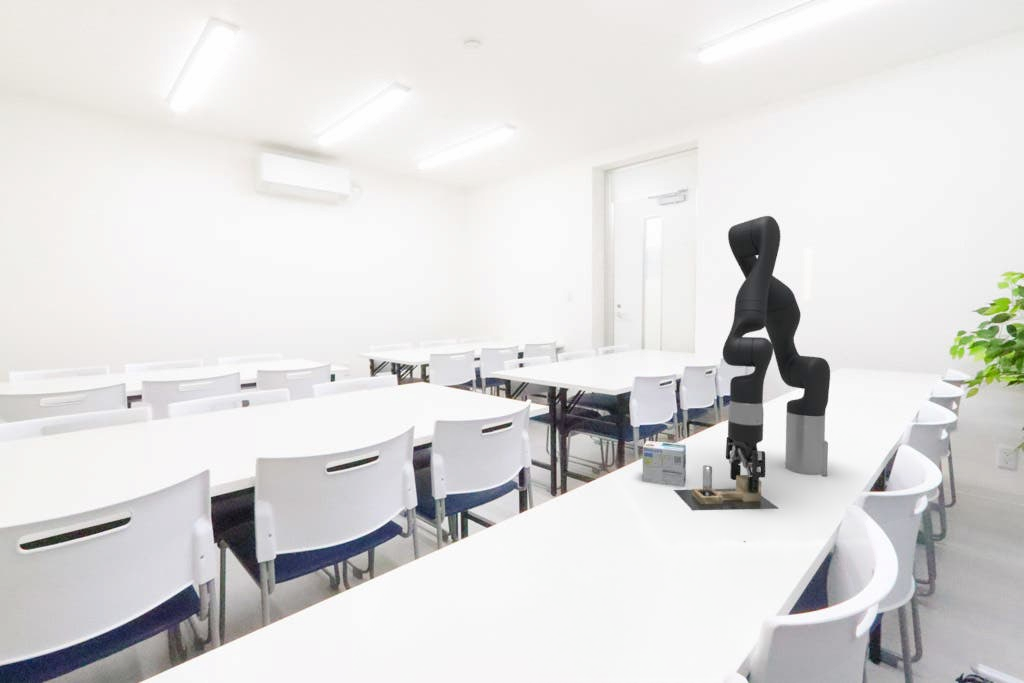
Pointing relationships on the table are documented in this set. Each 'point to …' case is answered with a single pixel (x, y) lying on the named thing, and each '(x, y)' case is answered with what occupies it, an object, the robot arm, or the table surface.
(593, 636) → the table surface
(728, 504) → the post stand
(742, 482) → the tan wooden piece
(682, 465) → the light bulb box
